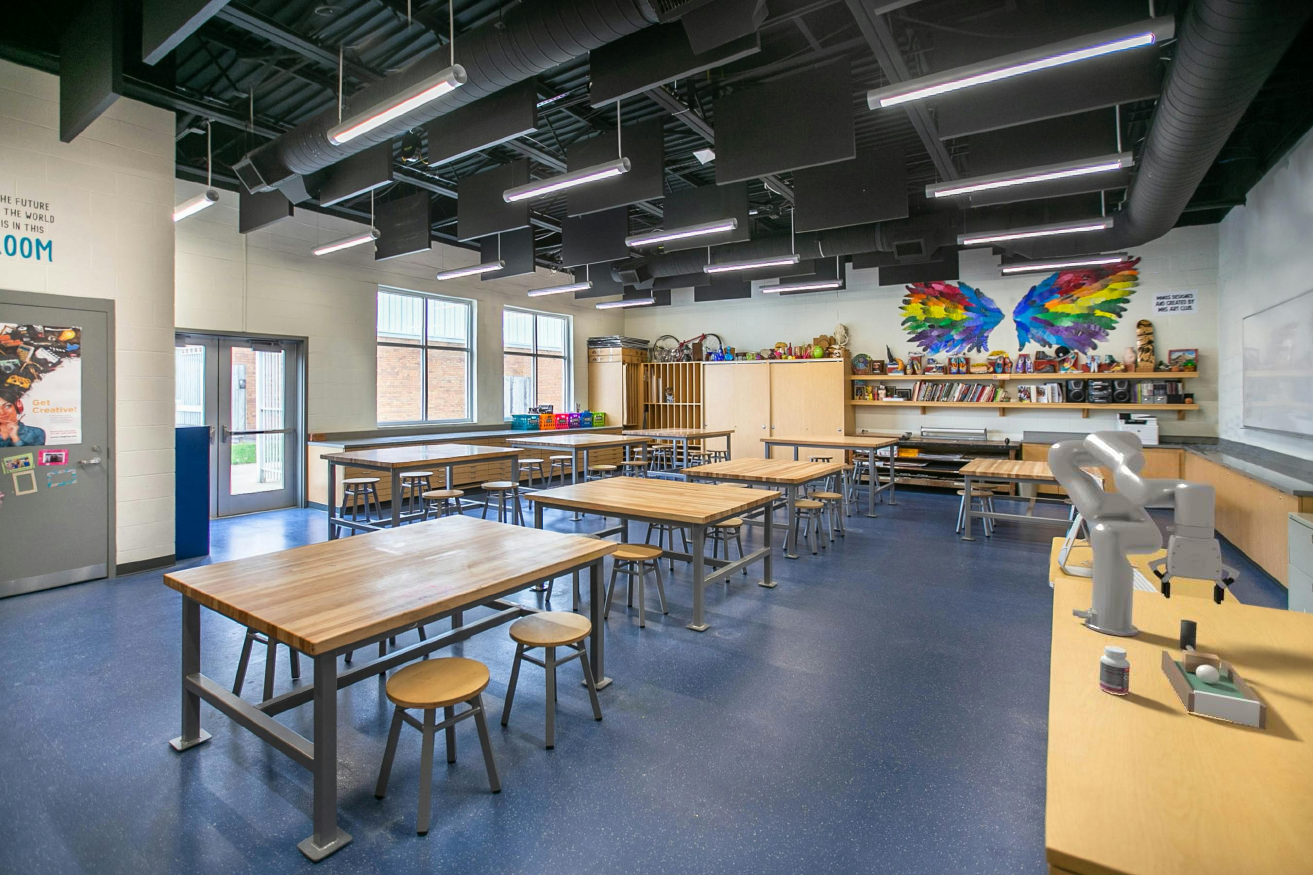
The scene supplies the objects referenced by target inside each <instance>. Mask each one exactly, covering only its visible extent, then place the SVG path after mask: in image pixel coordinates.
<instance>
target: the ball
mask: <svg viewBox="0 0 1313 875" xmlns="http://www.w3.org/2000/svg"><path fill="white" fill-rule="evenodd" d="M1196 675H1197V677H1198V678H1199V679H1200V680H1201V681H1202V682H1204V683H1208V684H1214V683H1216V682H1218V681H1219V678H1220V675H1219V672H1218V671H1217V670H1216V669H1215V668H1214V667H1212V666H1209V665H1201V666H1199V667H1198V668H1197V669H1196Z"/></svg>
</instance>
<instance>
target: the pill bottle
mask: <svg viewBox="0 0 1313 875" xmlns="http://www.w3.org/2000/svg"><path fill="white" fill-rule="evenodd" d="M1127 653H1128V652H1127V650H1126V649H1124V648H1123V647H1119V646H1115V645H1114V646H1112V645H1105V646H1104V654H1103V655H1101V657H1100V659H1099V682H1098V684H1099V689H1100V690H1102V689H1103V690H1105V691H1109V692H1112V693H1117V694H1126V693H1128V694H1129V689H1130V686H1129V685H1130V669H1131V668H1130V667H1131V666H1130V662H1129V661H1128V660H1127V659H1126V658H1127ZM1103 690H1102V691H1103ZM1105 691H1104V692H1105Z"/></svg>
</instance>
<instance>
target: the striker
mask: <svg viewBox="0 0 1313 875" xmlns="http://www.w3.org/2000/svg"><path fill="white" fill-rule="evenodd" d="M1197 624H1198V623H1197V621H1193V620H1188V619H1180V631H1179V632H1180V634H1179V649H1180V650H1182V659H1181V662H1182V667H1183V668H1184V670H1185V671H1189V672H1195V673H1196V669H1197V668H1198V667H1199V666H1201V665H1209V666H1212V667H1214V668H1215V669H1216V670H1217V671H1218V672H1219V669H1220V668H1221V659H1220V658H1219V656H1217V654H1213V653H1212V654H1211V653H1205V652H1200V651H1196V649H1197V648H1196V646H1197V631H1198V630H1197V627H1198V625H1197Z"/></svg>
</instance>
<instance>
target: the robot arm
mask: <svg viewBox="0 0 1313 875" xmlns="http://www.w3.org/2000/svg"><path fill="white" fill-rule="evenodd" d="M1142 450H1143V442H1142V439H1141V437H1139V436H1138V435H1137V434H1136V433H1135V432H1132V431H1128V430H1097V431H1094V432H1092V433H1090V434H1087V436H1086V437H1084V439H1083V440H1082V439H1081V440H1079V439H1078V440H1077V439H1075V440H1063V441H1059V442H1056V443H1053V444H1052V445H1051V446H1050V448H1049V450H1048V452H1047V464H1048V468H1049V470H1050V472H1051V474H1052V475H1053V477H1054V479H1055V480H1056V481H1057V482H1058V483H1059V484H1060V485H1061V487H1062V488H1063V490H1064V491H1065V492H1066V493H1067V496H1068V497H1069V499H1070V500H1071V502H1072V504H1073V505H1074V507H1075V509H1076V510H1077V511H1078V513H1079V514H1080V516H1081V517H1082V518H1083V520H1084V521H1086V522H1087V523H1088V524H1089V523H1090V524H1094V526H1092V528H1091V530H1090V533H1089V540H1090V546H1091V550H1092V590H1091V592H1092V594H1091V595H1092V596H1091V607H1089V609H1085V610H1080V609H1074V608H1072V616H1073V617H1077V618H1078V619H1084V625H1085V626H1086V627H1087V628H1089V629H1091V630H1093V631H1096V632H1099V633H1101V634H1102V633H1103V634H1107V635H1113V636H1121V637H1134V636H1137V635H1139V629H1138V627H1137V626H1135V625H1133V607H1134V606H1133V603H1134V580H1135V579H1134V577H1135V573H1134V569H1133V566H1132V563H1131V562H1130V560H1129V559H1128V557H1127V556H1130V555H1131V556H1132V555H1133V556H1134V555H1135V556H1136V555H1152V554H1155V553H1158V552H1159V551H1160V549H1162V547H1163V542H1164V539H1163V536H1162V533H1161V531H1160V529H1159V527H1158V526H1157V524H1156V522H1155V521H1154V520H1153V519H1152V517H1151V515H1150V514H1149V513H1148V512H1147V510H1146V509H1145V508H1166V509H1167V508H1171V509H1173V510H1174V511H1173V523H1172V525H1166V526H1165V527H1166V528H1165V529H1166V532H1167V531H1168V532H1171V533H1173V534H1170V536H1169V539H1168V541H1167V548H1166V556H1165V557H1161V558H1158V559H1155V560H1151V561H1148V562H1147V566H1149V568H1150V570H1151V572H1152V573H1153V574H1154V575H1155V576H1156V577H1157V578H1158V579H1159V580H1160V581H1161V583H1160V593H1161V594H1162V595H1163V597H1164V598H1165V599H1168V600H1169V599H1170V598H1171V583H1170V580H1172V578H1174V577H1176V578H1182V579H1192V580H1203V581H1212V582H1214V583H1215V585H1214V586H1213V602H1214V603H1216V604H1217V605H1219V606H1220V605H1222V602H1224V601H1225V589H1226V588H1228V586H1230V585H1232V584H1233V583H1235V581H1236V580H1237V578H1238V577H1239V576H1240V574H1241V572H1240V571H1239V570H1237V569H1235V568H1233V567H1231V566H1229V565H1227V564H1225V563H1223V562H1222V553H1221V552H1222V551H1221V546H1220V542H1219V539H1217V538H1215V513H1216V512H1215V510H1216V507H1215V506H1216V487H1215V486H1214V485H1212V484H1210V483H1207V482H1196V481H1194V482H1193V481H1189V480H1186V479H1182V478H1144V477H1142V476H1141V475H1139V474H1140V472H1142V470H1143V469H1144V467H1145V465H1146V458H1145V455H1144V454H1143V453H1142ZM1102 467H1105V469H1107V470H1109V471H1110V472H1111V473H1112V481H1113V485H1114V487H1115V489H1116V490H1117V491H1118V492H1110V491H1109V492H1108V491H1106V490H1103V488H1102V487H1101V486H1100V485H1099V483H1098V482H1097V480H1096V479H1095V478H1094V477H1093V476H1092V475H1091V474H1090V473H1087V471H1084V470H1083V469H1082V468H1102ZM1162 565H1164V566H1165V571H1164V572H1163V573H1161V572H1160V570H1159V569H1158V567H1159V566H1162ZM1223 571H1225V572H1228V573H1229V574H1228V575H1227V576H1226V577H1225V578H1223V577H1222V576H1223ZM1222 578H1223V579H1222Z"/></svg>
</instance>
